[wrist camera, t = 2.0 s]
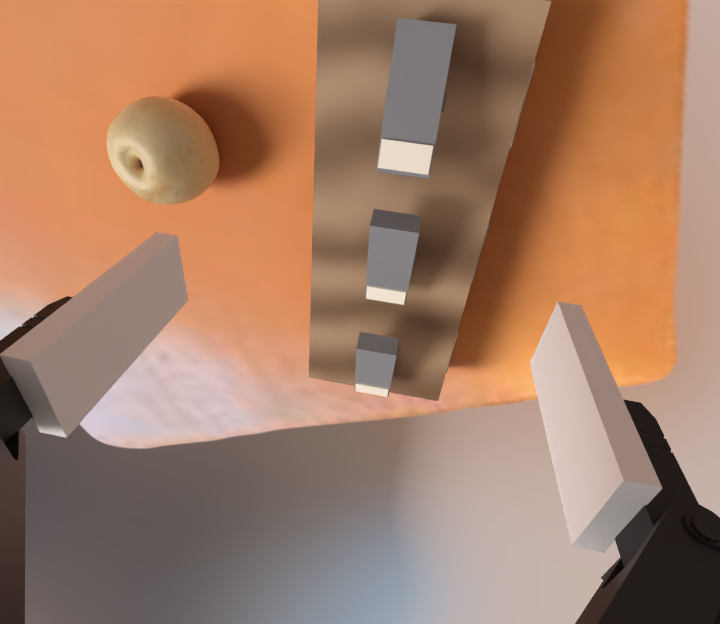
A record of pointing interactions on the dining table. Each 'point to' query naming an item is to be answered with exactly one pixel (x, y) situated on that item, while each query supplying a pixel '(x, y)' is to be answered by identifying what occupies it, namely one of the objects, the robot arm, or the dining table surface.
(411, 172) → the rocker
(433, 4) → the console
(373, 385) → the block
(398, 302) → the block
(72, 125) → the dining table surface
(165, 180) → the apple
